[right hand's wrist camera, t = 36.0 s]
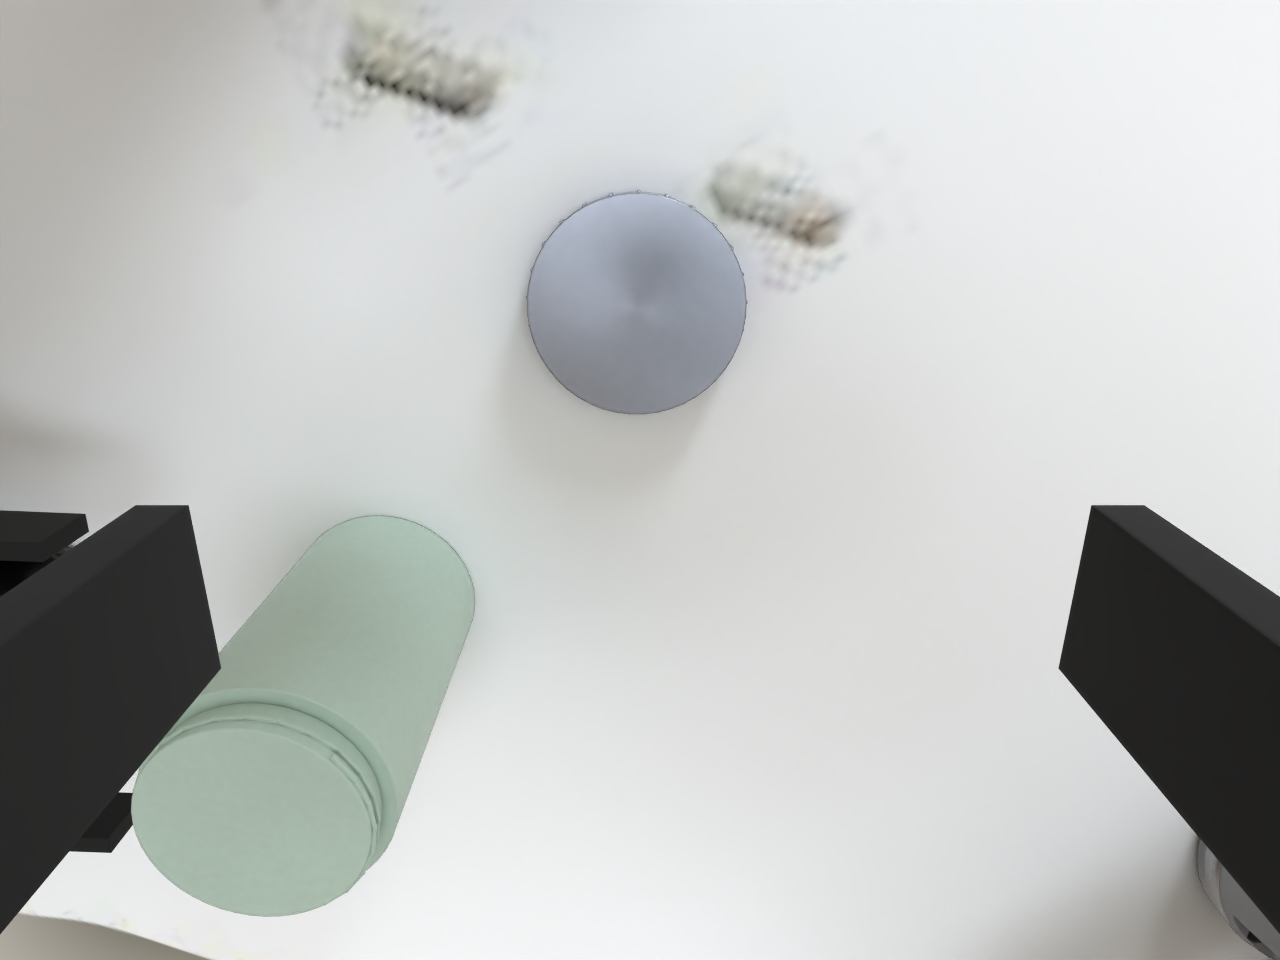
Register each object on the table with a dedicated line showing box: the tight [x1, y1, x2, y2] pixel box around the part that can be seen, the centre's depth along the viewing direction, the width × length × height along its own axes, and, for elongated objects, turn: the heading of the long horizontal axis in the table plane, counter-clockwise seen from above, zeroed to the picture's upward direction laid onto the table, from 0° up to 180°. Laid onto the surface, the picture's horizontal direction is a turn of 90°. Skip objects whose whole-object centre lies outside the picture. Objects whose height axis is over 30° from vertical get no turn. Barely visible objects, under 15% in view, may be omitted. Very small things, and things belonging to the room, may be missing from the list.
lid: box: [526, 190, 747, 414], centre depth 37 cm, size 9×10×2 cm
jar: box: [131, 516, 475, 917], centre depth 35 cm, size 9×9×16 cm
